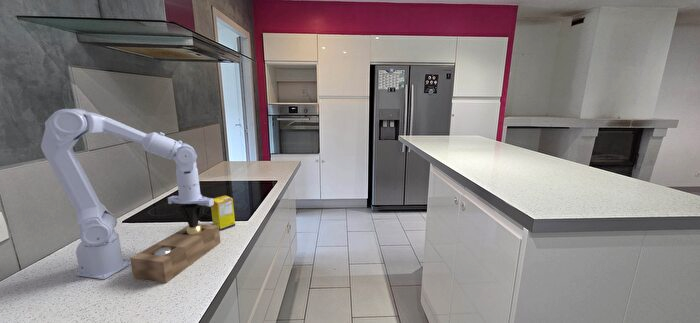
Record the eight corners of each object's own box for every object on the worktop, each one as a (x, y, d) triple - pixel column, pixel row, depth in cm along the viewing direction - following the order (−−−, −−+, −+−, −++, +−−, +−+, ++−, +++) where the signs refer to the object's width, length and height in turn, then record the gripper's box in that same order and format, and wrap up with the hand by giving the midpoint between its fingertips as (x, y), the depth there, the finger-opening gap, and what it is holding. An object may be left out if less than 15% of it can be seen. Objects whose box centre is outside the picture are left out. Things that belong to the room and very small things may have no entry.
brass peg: (185, 244, 88) (183, 228, 87) (194, 238, 92) (192, 223, 91) (196, 246, 87) (194, 229, 86) (205, 239, 91) (203, 224, 90)
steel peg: (152, 272, 77) (150, 253, 76) (165, 264, 81) (162, 246, 80) (165, 273, 76) (162, 255, 75) (177, 265, 80) (174, 247, 79)
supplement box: (227, 221, 111) (225, 194, 109) (235, 225, 107) (233, 198, 105) (212, 226, 107) (209, 198, 104) (220, 231, 103) (217, 202, 101)
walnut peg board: (133, 278, 75) (130, 257, 74) (194, 240, 96) (192, 223, 95) (166, 283, 73) (162, 261, 72) (220, 242, 94) (218, 225, 93)
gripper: (218, 181, 88) (222, 222, 91) (178, 179, 91) (183, 219, 94) (202, 188, 82) (207, 232, 84) (159, 185, 84) (166, 228, 87)
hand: (193, 226), depth 89 cm, fingers closed, pressing on brass peg
